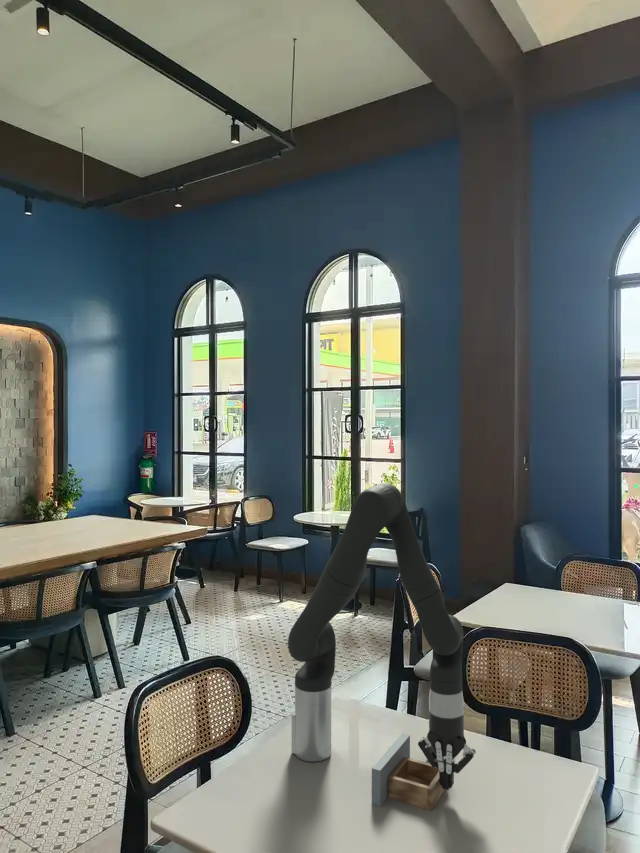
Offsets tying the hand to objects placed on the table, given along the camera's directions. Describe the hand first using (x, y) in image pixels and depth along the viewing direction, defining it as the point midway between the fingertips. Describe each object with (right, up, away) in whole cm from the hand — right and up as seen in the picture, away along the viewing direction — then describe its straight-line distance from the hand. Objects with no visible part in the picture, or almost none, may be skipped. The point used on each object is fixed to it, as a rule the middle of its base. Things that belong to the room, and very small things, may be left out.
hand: (446, 787), depth 141 cm
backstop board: (-11, -3, +6) cm, 13 cm away
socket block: (-6, -3, +3) cm, 7 cm away
